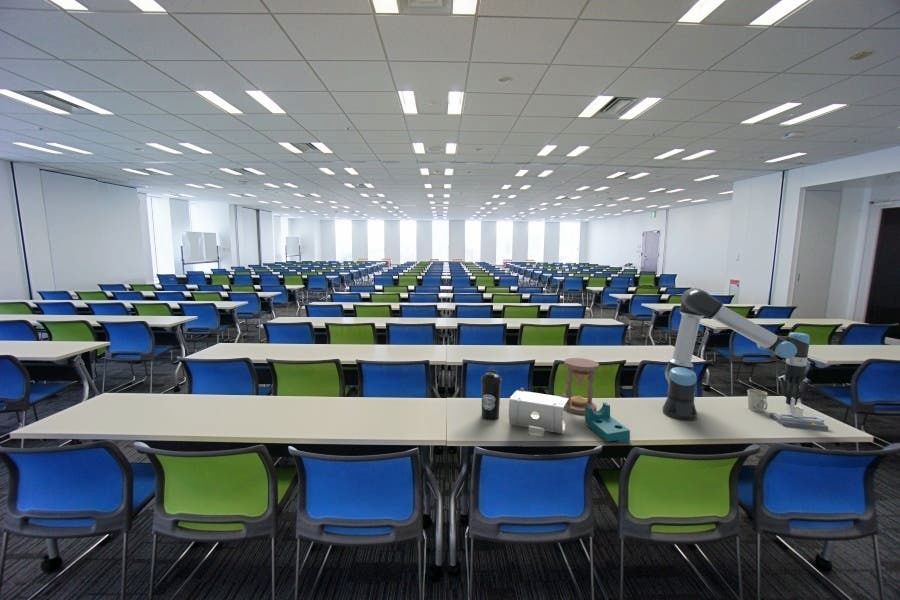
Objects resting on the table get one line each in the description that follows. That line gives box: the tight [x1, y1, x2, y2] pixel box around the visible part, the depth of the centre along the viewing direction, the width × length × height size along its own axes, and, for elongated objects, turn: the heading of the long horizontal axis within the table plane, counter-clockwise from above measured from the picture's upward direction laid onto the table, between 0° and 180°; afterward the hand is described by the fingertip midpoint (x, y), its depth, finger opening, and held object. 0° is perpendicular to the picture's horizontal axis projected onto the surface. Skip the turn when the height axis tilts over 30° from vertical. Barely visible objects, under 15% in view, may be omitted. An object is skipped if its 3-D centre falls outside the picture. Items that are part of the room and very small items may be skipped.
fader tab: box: [787, 404, 804, 418], centre depth 184 cm, size 3×5×6 cm, turn 166°
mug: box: [747, 388, 769, 413], centre depth 198 cm, size 8×13×10 cm, turn 174°
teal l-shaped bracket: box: [584, 401, 631, 444], centre depth 170 cm, size 18×11×10 cm, turn 10°
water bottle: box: [480, 369, 503, 421], centre depth 185 cm, size 10×10×23 cm
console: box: [769, 411, 829, 431], centre depth 184 cm, size 18×11×4 cm, turn 76°
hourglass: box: [563, 357, 600, 415], centre depth 198 cm, size 18×18×25 cm
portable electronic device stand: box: [508, 387, 569, 438], centre depth 176 cm, size 26×24×16 cm
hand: (790, 410), depth 185 cm, fingers closed
